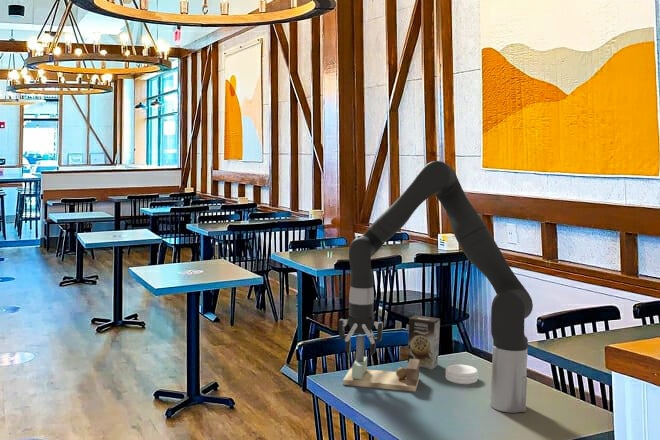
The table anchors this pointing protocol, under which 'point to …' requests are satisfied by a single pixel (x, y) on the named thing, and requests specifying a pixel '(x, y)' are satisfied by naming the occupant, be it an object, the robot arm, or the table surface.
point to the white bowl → (461, 374)
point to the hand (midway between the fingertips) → (360, 353)
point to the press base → (388, 378)
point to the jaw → (359, 359)
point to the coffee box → (424, 340)
